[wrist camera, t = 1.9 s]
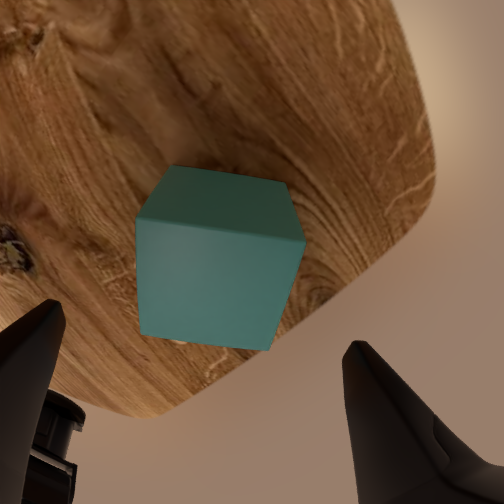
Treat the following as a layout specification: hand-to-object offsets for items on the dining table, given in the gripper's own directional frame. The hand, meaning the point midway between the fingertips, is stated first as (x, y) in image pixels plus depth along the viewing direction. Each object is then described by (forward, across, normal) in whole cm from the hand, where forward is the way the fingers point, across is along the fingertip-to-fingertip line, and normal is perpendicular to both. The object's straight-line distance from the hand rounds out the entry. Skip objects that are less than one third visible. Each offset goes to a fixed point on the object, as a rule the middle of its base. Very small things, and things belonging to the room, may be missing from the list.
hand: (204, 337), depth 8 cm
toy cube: (+7, 0, 0) cm, 7 cm away
